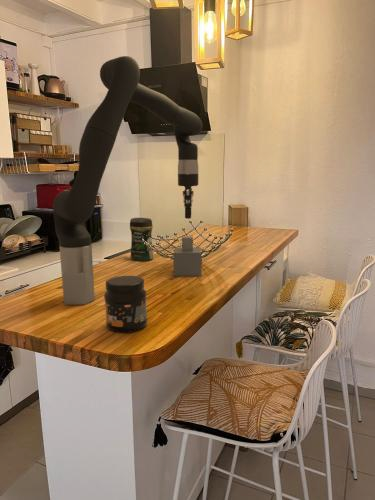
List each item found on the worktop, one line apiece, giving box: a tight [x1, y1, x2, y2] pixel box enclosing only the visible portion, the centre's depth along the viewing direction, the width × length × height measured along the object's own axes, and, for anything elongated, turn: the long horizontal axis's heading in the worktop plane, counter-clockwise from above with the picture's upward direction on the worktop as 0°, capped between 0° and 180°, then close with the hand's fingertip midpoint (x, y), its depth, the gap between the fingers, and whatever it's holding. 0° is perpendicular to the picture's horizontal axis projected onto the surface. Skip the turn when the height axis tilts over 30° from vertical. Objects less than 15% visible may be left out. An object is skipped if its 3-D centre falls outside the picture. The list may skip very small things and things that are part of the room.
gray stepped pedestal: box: [172, 235, 202, 277], centre depth 150 cm, size 10×10×14 cm
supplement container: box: [103, 275, 148, 333], centre depth 100 cm, size 10×10×12 cm
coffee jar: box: [129, 217, 154, 262], centre depth 172 cm, size 10×8×19 cm
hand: (188, 217), depth 147 cm, fingers open, 8 cm apart
